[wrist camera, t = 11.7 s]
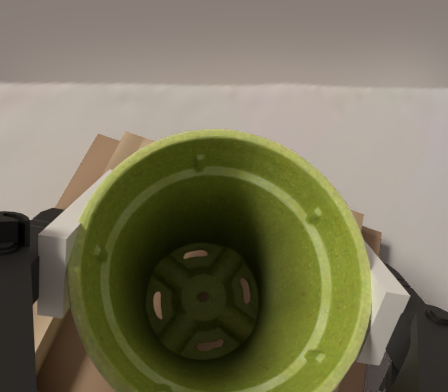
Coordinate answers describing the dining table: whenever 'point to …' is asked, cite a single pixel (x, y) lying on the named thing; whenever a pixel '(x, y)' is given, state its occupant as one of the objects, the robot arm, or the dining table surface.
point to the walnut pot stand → (65, 328)
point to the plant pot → (219, 270)
